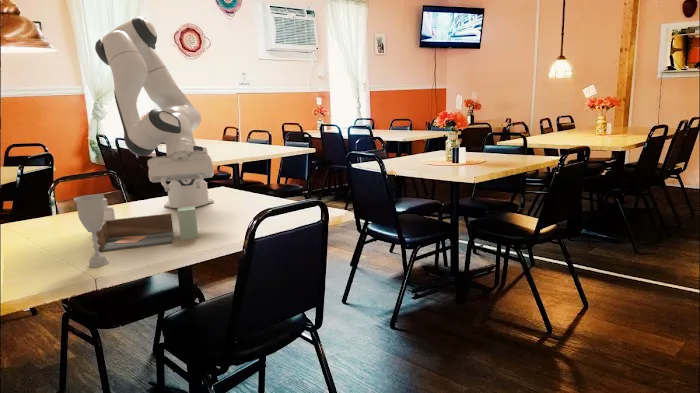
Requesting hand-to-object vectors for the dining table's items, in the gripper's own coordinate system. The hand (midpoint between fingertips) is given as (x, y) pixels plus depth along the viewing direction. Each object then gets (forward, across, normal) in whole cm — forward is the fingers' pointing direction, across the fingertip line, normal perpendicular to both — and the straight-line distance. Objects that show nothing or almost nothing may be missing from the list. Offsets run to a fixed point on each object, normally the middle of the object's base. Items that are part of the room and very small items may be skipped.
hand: (182, 188), depth 166 cm
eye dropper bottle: (+3, -26, +16) cm, 30 cm away
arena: (+15, -14, +3) cm, 21 cm away
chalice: (+29, -22, -10) cm, 38 cm away
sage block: (+17, +1, +2) cm, 17 cm away
